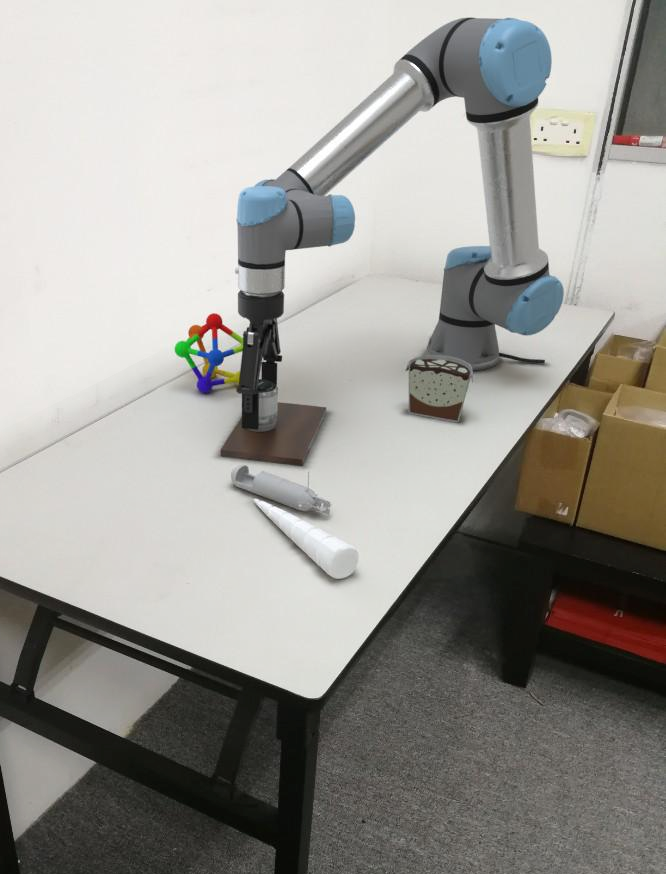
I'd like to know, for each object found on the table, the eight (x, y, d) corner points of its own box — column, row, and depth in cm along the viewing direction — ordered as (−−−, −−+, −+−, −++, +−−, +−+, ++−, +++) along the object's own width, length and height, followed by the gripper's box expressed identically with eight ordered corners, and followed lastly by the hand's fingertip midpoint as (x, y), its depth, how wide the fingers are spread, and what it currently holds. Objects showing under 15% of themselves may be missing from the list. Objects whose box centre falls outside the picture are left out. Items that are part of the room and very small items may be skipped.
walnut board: (326, 413, 159) (326, 407, 158) (302, 466, 141) (302, 459, 140) (252, 405, 162) (253, 399, 161) (220, 456, 143) (220, 449, 143)
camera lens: (283, 423, 152) (285, 381, 148) (265, 436, 147) (265, 393, 143) (254, 415, 155) (254, 373, 151) (234, 427, 150) (234, 385, 146)
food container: (474, 411, 160) (482, 360, 155) (466, 424, 155) (474, 371, 150) (410, 400, 164) (415, 349, 159) (400, 412, 160) (406, 360, 154)
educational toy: (169, 399, 166) (159, 322, 158) (199, 377, 176) (191, 303, 169) (242, 405, 160) (235, 326, 153) (269, 382, 170) (263, 306, 163)
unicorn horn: (275, 496, 132) (276, 468, 129) (359, 575, 114) (362, 545, 112) (247, 503, 130) (248, 475, 127) (329, 585, 112) (331, 554, 110)
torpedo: (223, 489, 134) (223, 451, 130) (242, 477, 137) (242, 440, 134) (320, 525, 125) (322, 486, 121) (337, 512, 128) (340, 473, 125)
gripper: (257, 268, 149) (256, 383, 161) (216, 311, 129) (219, 439, 140) (299, 272, 148) (295, 387, 159) (265, 315, 127) (263, 444, 139)
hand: (259, 412), depth 150 cm, fingers open, 13 cm apart
